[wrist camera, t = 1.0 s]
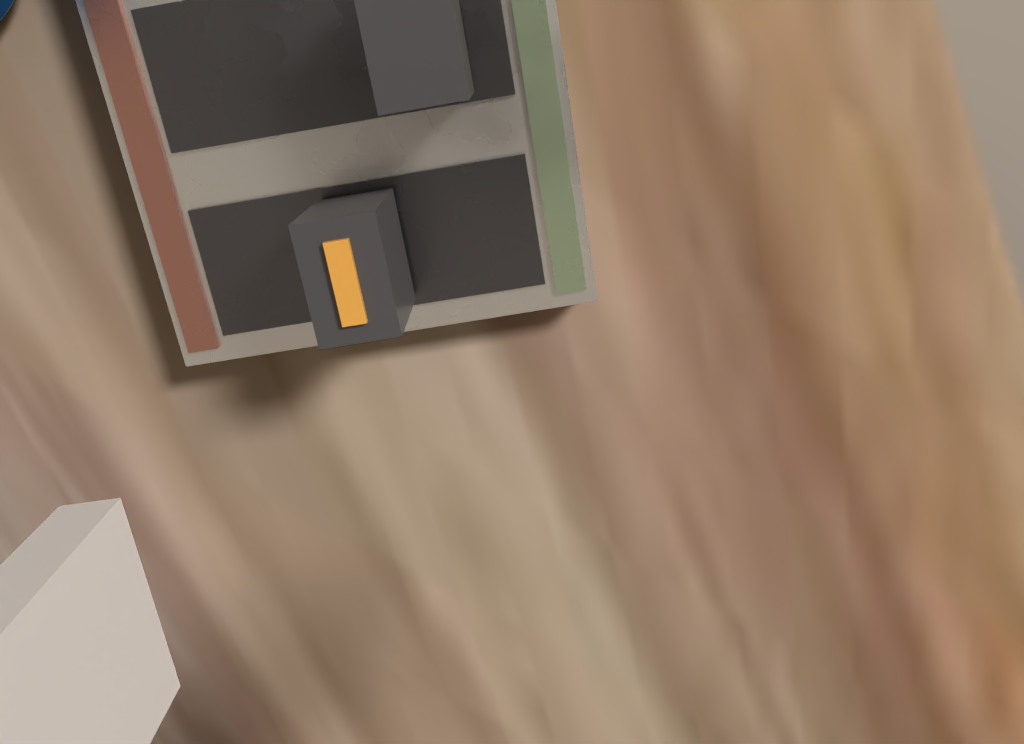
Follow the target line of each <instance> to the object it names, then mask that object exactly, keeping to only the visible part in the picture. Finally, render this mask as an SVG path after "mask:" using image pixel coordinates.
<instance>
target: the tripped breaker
mask: <svg viewBox="0 0 1024 744" xmlns="http://www.w3.org/2000/svg"><path fill="white" fill-rule="evenodd" d="M288 227H289V231H290V235H291V239H292V243H293V247H294V251H295V256H296V260H297V264H298V268H299V272H300V276H301V280H302V284H303V288H304V292H305V296H306V300H307V304H308V308H309V312H310V316H311V320H312V324H313V328H314V332H315V336H316V340H317V344H318V348H319V350H322V349H328V348H334V347H341V346H347V345H353V344H360V343H366V342H372V341H378V340H385V339H391V338H397V337H402V336H403V333H404V330H405V327H406V324H407V322H408V319H409V316H410V313H411V311H412V308H413V305H414V302H415V299H416V298H415V293H414V289H413V284H412V279H411V274H410V269H409V265H408V260H407V255H406V250H405V245H404V240H403V236H402V231H401V226H400V221H399V216H398V211H397V207H396V202H395V197H394V192H393V188H389V189H383V190H377V191H371V192H366V193H360V194H354V195H348V196H342V197H336V198H330V199H324V200H318V201H316V202H315V203H314V204H312V205H311V206H310V207H309V208H308V209H307V210H305V211H304V212H303V213H302V214H301V215H299V216H298V217H297V218H296V219H295V220H294V221H292V222H291V223H290V224H289V225H288Z"/></svg>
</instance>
